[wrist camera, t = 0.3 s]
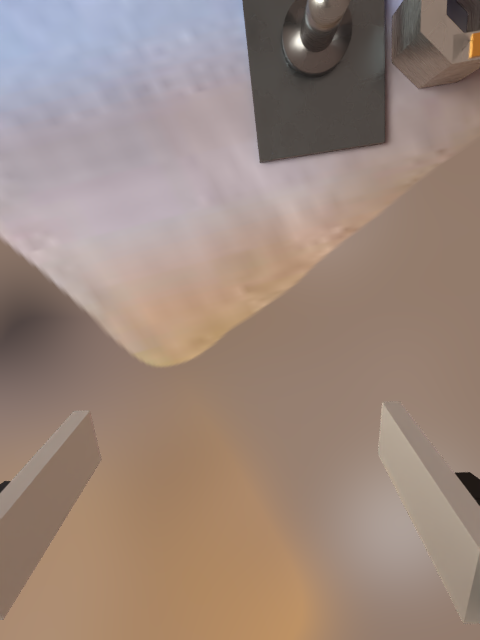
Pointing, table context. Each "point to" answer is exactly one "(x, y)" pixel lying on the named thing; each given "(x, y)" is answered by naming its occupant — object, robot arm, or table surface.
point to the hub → (435, 42)
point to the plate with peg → (316, 75)
